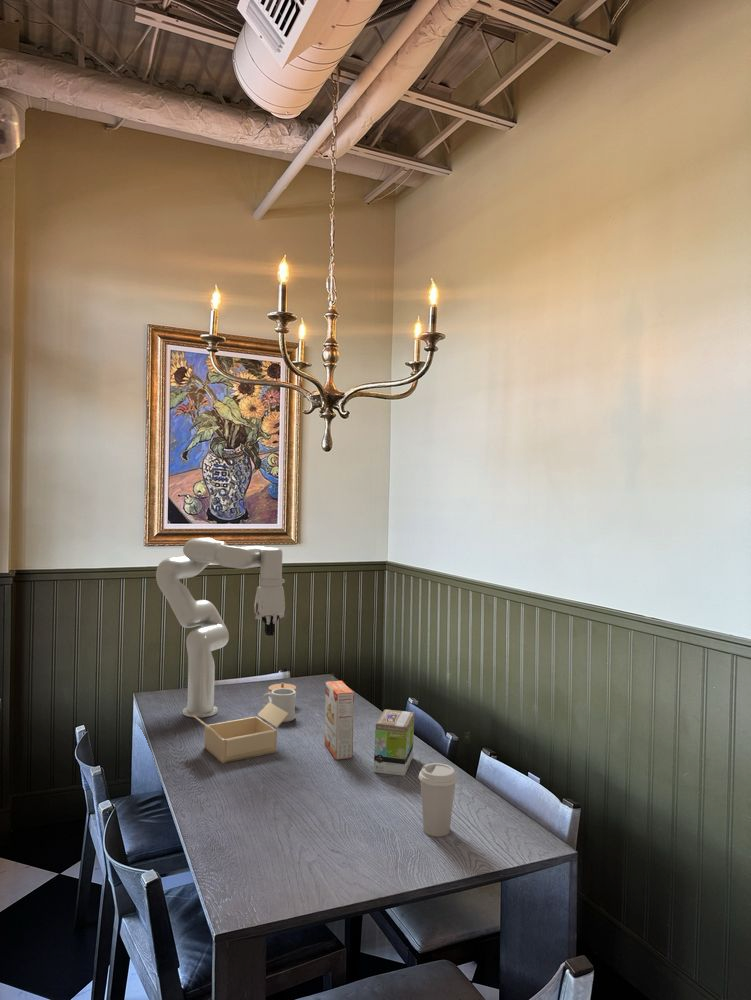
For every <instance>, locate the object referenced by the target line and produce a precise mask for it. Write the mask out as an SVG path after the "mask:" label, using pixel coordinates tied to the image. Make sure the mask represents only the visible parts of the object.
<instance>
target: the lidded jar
mask: <svg viewBox="0 0 751 1000" xmlns="http://www.w3.org/2000/svg"><path fill="white" fill-rule="evenodd" d="M279 688H288V689H293V690H295V691H296V692H297V686H296V685H294V684H291V683H285V682H280V683H275V684H271V685H269V686H268V689H267V691H268V692H267V693H270V694H271V691H272V690H275V689H279ZM296 695H297V693H296V694H295V698H296V697H297V696H296ZM268 700H269V701H268V702H270V703H272V698H271V697H269V696H268Z"/></svg>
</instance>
